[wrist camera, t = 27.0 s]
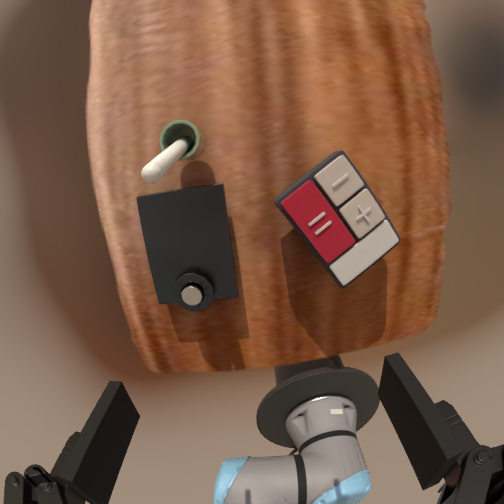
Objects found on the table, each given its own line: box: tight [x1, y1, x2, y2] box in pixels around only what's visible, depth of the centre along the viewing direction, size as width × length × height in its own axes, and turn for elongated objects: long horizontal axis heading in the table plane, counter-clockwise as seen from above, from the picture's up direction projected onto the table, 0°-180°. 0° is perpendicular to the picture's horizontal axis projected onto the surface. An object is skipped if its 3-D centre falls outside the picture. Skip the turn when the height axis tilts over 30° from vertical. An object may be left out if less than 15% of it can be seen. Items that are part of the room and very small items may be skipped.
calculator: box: [274, 150, 401, 288], centre depth 35 cm, size 11×4×15 cm
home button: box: [182, 283, 203, 305], centre depth 37 cm, size 3×3×1 cm
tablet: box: [137, 183, 239, 311], centre depth 37 cm, size 17×12×2 cm
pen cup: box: [159, 120, 206, 161], centre depth 32 cm, size 5×5×5 cm
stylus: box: [141, 136, 193, 184], centre depth 27 cm, size 2×2×15 cm
